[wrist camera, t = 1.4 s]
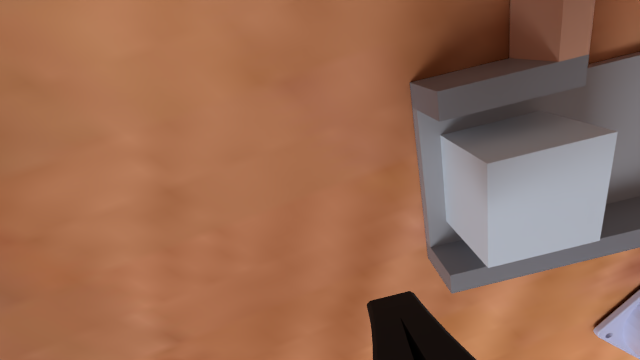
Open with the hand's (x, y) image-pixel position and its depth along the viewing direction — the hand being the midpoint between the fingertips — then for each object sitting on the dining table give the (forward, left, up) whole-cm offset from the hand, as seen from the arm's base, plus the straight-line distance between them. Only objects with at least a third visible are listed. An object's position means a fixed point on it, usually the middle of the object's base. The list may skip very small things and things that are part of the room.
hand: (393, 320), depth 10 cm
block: (-5, -5, -8) cm, 11 cm away
